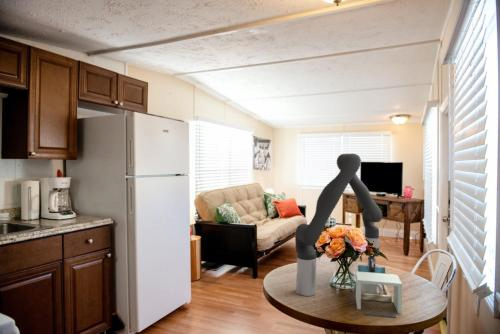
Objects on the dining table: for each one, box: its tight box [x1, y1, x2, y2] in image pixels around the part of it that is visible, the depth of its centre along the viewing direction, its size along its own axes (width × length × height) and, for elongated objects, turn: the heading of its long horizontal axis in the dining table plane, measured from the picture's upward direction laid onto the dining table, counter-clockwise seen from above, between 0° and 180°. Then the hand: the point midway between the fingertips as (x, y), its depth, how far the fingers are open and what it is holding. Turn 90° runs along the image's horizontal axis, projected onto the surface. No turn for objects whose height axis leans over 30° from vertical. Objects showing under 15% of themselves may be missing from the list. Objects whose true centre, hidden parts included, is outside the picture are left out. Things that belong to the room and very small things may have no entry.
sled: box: [357, 264, 393, 303], centre depth 168 cm, size 13×24×9 cm, turn 166°
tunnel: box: [355, 270, 403, 315], centre depth 152 cm, size 18×12×13 cm, turn 76°
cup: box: [361, 283, 384, 295], centre depth 162 cm, size 11×8×8 cm
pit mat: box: [364, 310, 397, 319], centre depth 142 cm, size 12×2×1 cm, turn 76°
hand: (371, 278), depth 179 cm, fingers closed on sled
